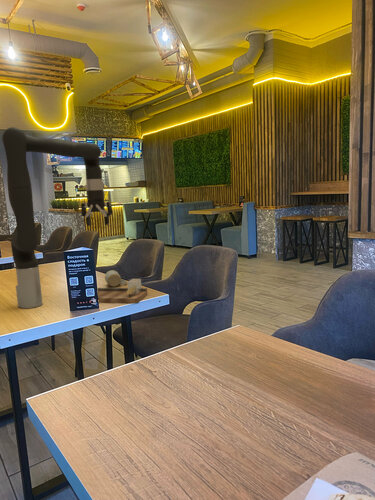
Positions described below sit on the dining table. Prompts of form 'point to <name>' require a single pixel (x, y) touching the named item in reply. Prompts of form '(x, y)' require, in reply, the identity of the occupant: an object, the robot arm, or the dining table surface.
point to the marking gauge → (134, 287)
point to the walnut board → (119, 295)
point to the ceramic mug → (114, 279)
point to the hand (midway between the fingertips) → (97, 225)
